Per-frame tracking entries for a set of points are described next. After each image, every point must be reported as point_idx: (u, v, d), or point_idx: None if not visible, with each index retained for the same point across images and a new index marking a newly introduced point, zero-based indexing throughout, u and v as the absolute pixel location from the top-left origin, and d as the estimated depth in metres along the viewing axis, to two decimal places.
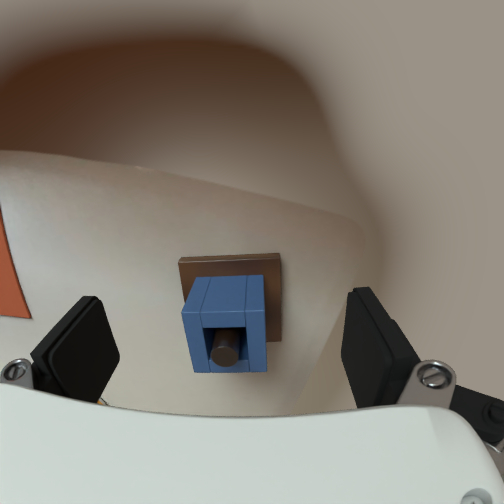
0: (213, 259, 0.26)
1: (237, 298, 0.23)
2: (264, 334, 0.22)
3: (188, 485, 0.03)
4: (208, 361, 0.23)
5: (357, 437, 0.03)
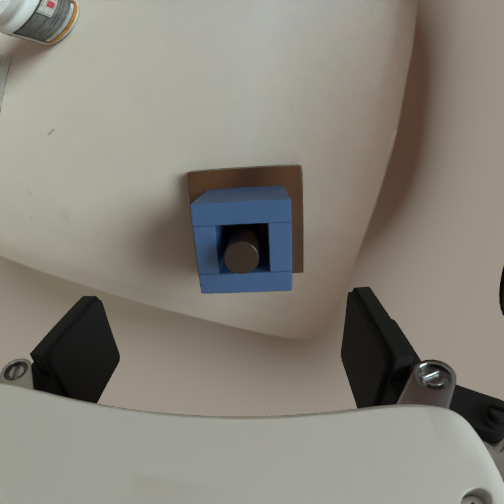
0: (302, 204, 0.24)
1: None
2: (259, 290, 0.20)
3: (188, 485, 0.03)
4: (213, 225, 0.18)
5: (358, 437, 0.03)
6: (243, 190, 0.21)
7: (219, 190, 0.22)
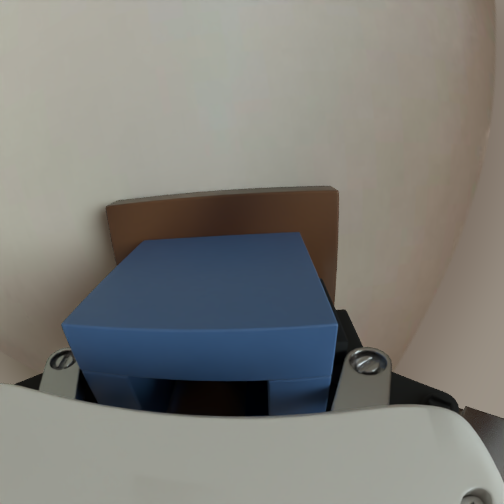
0: (335, 267, 0.12)
1: None
2: None
3: (188, 485, 0.03)
4: (123, 374, 0.06)
5: (358, 437, 0.03)
6: (210, 252, 0.09)
7: (162, 247, 0.10)
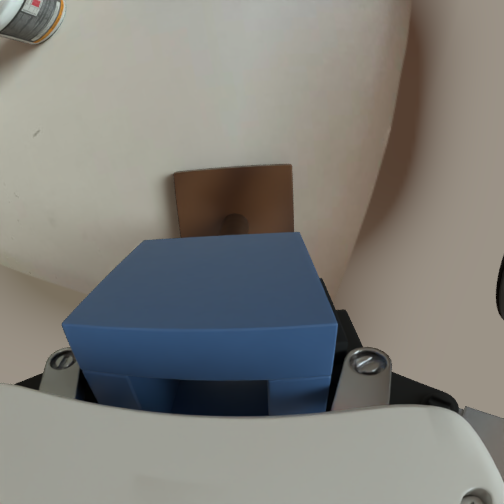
0: None
1: None
2: None
3: (188, 485, 0.03)
4: (124, 374, 0.06)
5: (358, 437, 0.03)
6: (210, 252, 0.09)
7: (162, 247, 0.10)
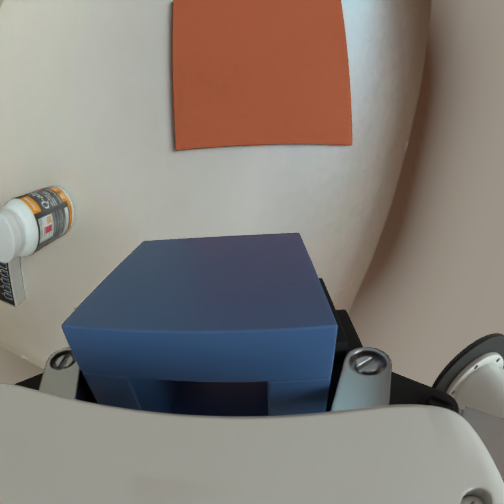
0: None
1: None
2: None
3: (188, 485, 0.03)
4: (124, 375, 0.06)
5: (357, 436, 0.03)
6: (210, 253, 0.09)
7: (162, 248, 0.10)
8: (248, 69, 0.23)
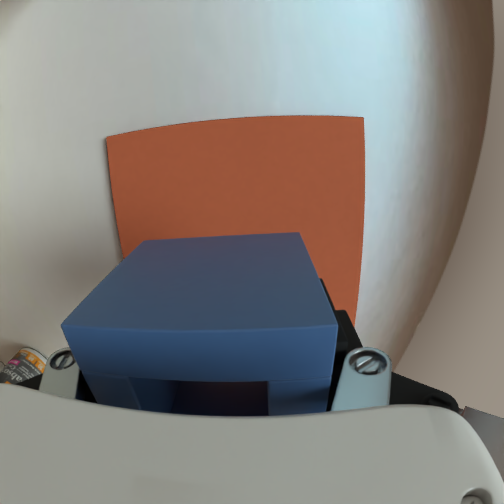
0: None
1: None
2: None
3: (188, 485, 0.03)
4: (124, 375, 0.06)
5: (357, 437, 0.03)
6: (210, 252, 0.09)
7: (162, 247, 0.10)
8: None
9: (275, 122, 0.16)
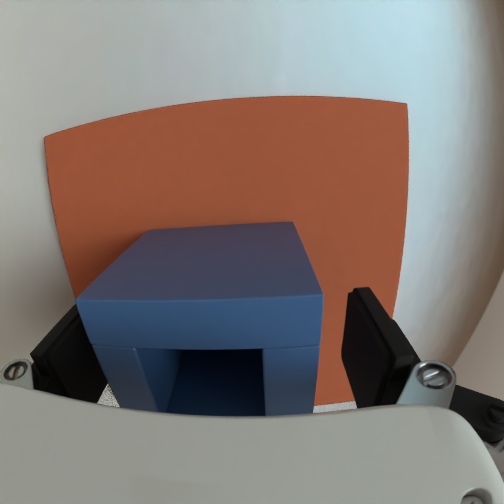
0: None
1: None
2: None
3: (188, 485, 0.03)
4: (131, 346, 0.07)
5: (358, 437, 0.03)
6: (211, 239, 0.10)
7: (166, 235, 0.11)
8: None
9: (279, 105, 0.10)
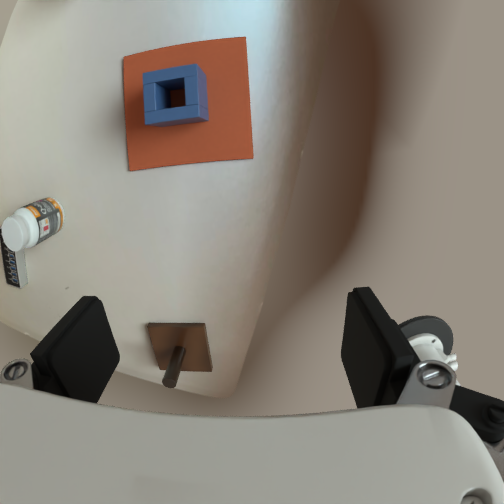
0: (207, 343, 0.44)
1: (201, 100, 0.29)
2: (179, 118, 0.28)
3: (188, 485, 0.03)
4: (154, 82, 0.27)
5: (358, 437, 0.03)
6: None
7: None
8: None
9: (202, 43, 0.30)
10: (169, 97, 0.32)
